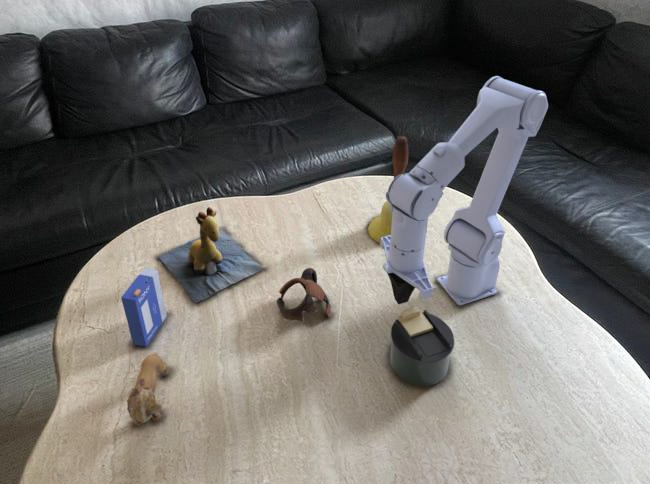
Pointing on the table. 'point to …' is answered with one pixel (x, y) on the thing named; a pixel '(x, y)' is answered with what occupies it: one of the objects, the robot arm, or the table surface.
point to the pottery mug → (307, 305)
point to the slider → (414, 322)
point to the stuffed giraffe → (209, 260)
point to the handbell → (384, 222)
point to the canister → (422, 352)
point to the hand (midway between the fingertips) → (401, 300)
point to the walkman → (144, 306)
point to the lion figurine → (146, 391)
